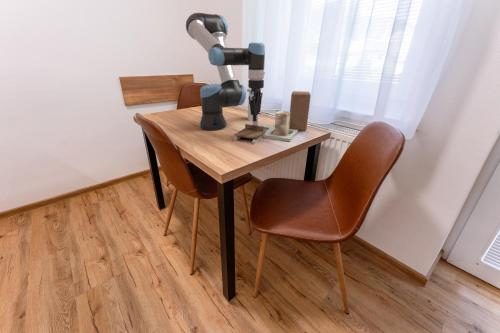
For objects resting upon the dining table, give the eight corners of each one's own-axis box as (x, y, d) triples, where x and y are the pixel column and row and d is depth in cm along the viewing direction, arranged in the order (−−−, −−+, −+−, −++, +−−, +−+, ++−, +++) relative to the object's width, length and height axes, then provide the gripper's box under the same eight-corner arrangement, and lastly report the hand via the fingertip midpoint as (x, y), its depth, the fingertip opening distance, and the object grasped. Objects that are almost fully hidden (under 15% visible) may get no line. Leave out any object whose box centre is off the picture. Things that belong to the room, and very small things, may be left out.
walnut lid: (234, 135, 109) (234, 129, 107) (244, 129, 119) (244, 123, 117) (256, 139, 105) (256, 132, 103) (265, 132, 114) (265, 126, 113)
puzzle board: (231, 140, 109) (231, 137, 108) (252, 126, 130) (252, 124, 129) (284, 148, 99) (284, 145, 98) (297, 132, 120) (297, 129, 119)
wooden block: (306, 131, 122) (310, 94, 113) (288, 130, 124) (291, 93, 115) (305, 126, 131) (310, 91, 122) (289, 125, 132) (292, 90, 124)
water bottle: (254, 116, 151) (255, 78, 140) (261, 119, 145) (263, 79, 134) (244, 118, 148) (244, 78, 136) (251, 121, 141) (251, 79, 130)
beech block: (274, 136, 115) (275, 113, 109) (277, 132, 119) (279, 110, 114) (285, 137, 112) (287, 114, 107) (288, 134, 117) (290, 111, 112)
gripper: (258, 80, 99) (257, 131, 109) (268, 78, 109) (266, 124, 120) (243, 80, 101) (243, 129, 112) (254, 77, 112) (253, 123, 123)
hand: (255, 126), depth 116 cm, fingers closed
